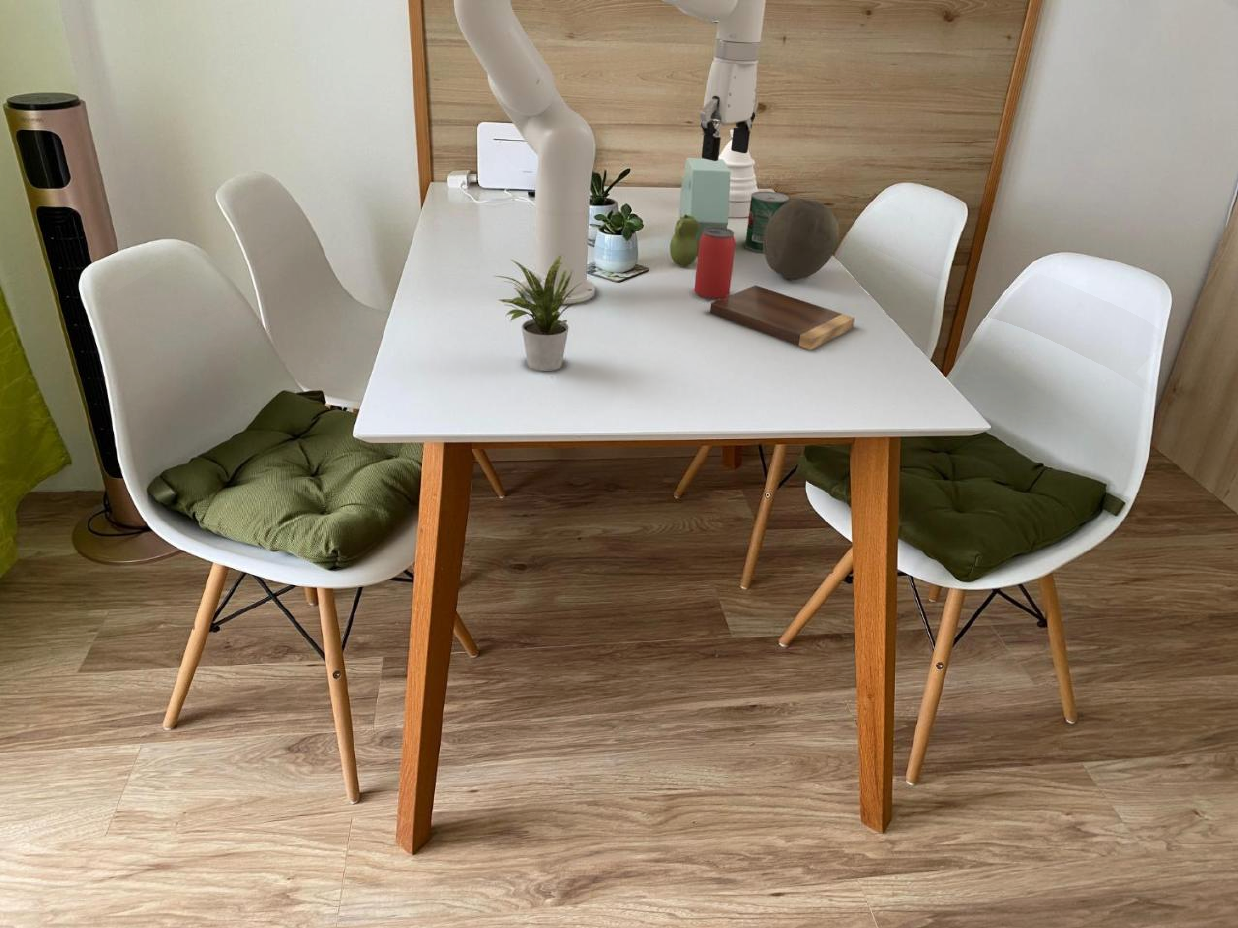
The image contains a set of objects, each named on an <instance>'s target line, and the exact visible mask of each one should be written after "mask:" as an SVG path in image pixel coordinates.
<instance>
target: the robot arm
mask: <svg viewBox="0 0 1238 928" xmlns="http://www.w3.org/2000/svg"><path fill="white" fill-rule="evenodd" d="M660 1H661V2H663V3H667V4H669V5H671V6H674V7H676V8H677V9H678V10H679V11H680V12H681V13H683V14H684V15H686V16H689V17H693V18H696V19H701V20H704V21H706V22H712V23H715V22H717V26H716V36H715V44H714V45H715V46H714V56H713V60H712V63H711V66H710V68H709V72H708V76H707V77H708V78H707V82H706V86H705V87H706V88H705V94H704V100H703V107H702V109H701V110H700V112H699V117H700V122H701V123H700V127H701V129H702V131H701V134H702V136H703V141H702V148H701V149H702V150H701V158H703V159H708V160H712V161H718V159H719V155H720V150H721V139H722V137H721V136H720V134H721V132H722V130H723V128H724V127H725V126H727V125H733V124H735V127H733V129H732V130H733V138H732V139H731V140H732V147H731V150H732V151H735V152H740V153H747V152H748V151H749V144H750V136H751V130H752V129H753V123H754V121H755V118H756V113H757V110H758V107H759V101H758V100H757V99H756V93H757V92H756V91H757V79H758V78H757V77H758V63H759V56H760V49H761V40H762V33H763V24H764V18H765V11H766V1H767V0H660ZM453 8H454V14H455V19H456V21H457V25H458V27H459V29H460V32H461V33H462V35H463V37H464V39H465V40H466V42H467V44H468V46H469V48H470V49H471V50H472V52H473V53H474V55H475V57H476V58H477V60H478V61H479V63H480V65H481V66H482V68H483V70H484V71H485V72H486V74H487V82H488V85H489V88H490V90H491V92H492V94H493V96H494V97H495V99H496V100H497V102H498V103H499V105H500V107H501V108H502V109H503V110H504V112H505V114H506V115H507V117H508V118H509V119H510V121H511V122H512V124H513V125H514V126H515V128H516V129H517V131H518V132H519V134H520V135H521V137H522V138H523V139H524V142H526V143H527V146H529V147H530V149H531V150H532V151H533V152H534V153H535V154H536V155H537V169H536V177H535V186H534V188H535V189H534V208H535V209H534V268H533V269H530V271H531V272H532V274H534V276H535V277H536V278H537V279H538V281H539V282H540V284H541V286H542V288H543V291H544V286H545V279H546V277H547V274H548V272H549V269H550V267H551V266H552V265H553V264H554V262H555V261H556V259H557V258H558V257H559V256H561V259H560V263H562V264H561V265H560V266H559V269H558V272H557V276H556V280H555V285H554V294H555V293H556V290H557V287H558V285H559V282H560V280H561V276H562V274H563V272H564V270H565V268H566V266H567V271H566V276H565V279H564V281H563V284H562V286H561V289H560V292H561V290H562V288H563V286H564V284H565V281H566V279H567V278H568V277H569V275H570V273H571V271H572V270H573V271H572V275H571V278H570V281H569V283H568V285H567V287H566V289H565V291H566V290H567V291H566V292H565V294H564V296H563V298H564V297H565V296H566V295H567V294H568V293H569V292H570V291H571V290H572V289H573V288H574V287H575V286H577V285H578V286H577V287H576V288H575V289H574V290H573V291H572V292H571V293H570V294H569V295H568V296H567V297H566V298H565V300H564V301H563V303H562V305H571V304H573V303H576V302H585V301H588V300H590V299H591V298H593V297H594V296H595V293H596V287H595V285H594V284H593V283H592V282H591V281H590V280H588V260H589V259H588V258H589V257H588V256H589V232H590V205H591V204H590V203H591V201H590V199H591V188H592V187H591V185H592V175H593V171H594V164H595V158H596V157H595V156H596V139H595V135H594V132H593V130H592V128H591V126H590V124H589V123H588V122H587V120H585V118H584V117H583V116H581V115H580V114H578V112H576V111H575V110H573V109H571V108H570V107H569V106H568V105H567V103H566V101H565V100H564V99H563V97H562V96H561V94H560V93H559V91H558V90H557V88H556V81H555V77H554V73H553V72H552V70H551V68H550V66H549V64H548V63H547V61H546V60H544V58H543V57H542V55H541V54H540V52H539V51H538V49H537V48H536V46H535V45H534V44H533V42H532V40H531V39H530V37H529V35H528V34H527V32H526V31H525V29H524V28H523V25H522V24H521V22H520V21H519V19H518V17H517V16H516V14H515V12H514V9H513V7H512V3H511V0H453ZM715 125H716V126H715ZM530 277H531V276H530ZM531 280H532V279H531ZM517 281H518V282H519V283H521V284H522V285H523V286H524V287H525V288H528V289H530V290H532V289H531V287H530V285H529V283H528V281H527V279H526V278H524V279H521V280H517ZM532 282H533V281H532ZM519 283H517V282H515V283H514V288H516V289H518V290H520V291H521V292H522V291H523V292H526V290H525V288H523V286H522V285H520V284H519ZM580 283H581V284H580ZM515 284H516V285H517V286H516V285H515ZM533 284H534V283H533ZM579 284H580V285H579ZM518 286H519V287H520V288H521V289H522V290H521V289H520V288H519V287H518ZM534 287H535V286H534ZM516 289H515V290H516ZM535 289H536V288H535ZM568 290H569V291H568ZM523 292H522V293H523ZM560 292H559V293H560ZM526 294H527V295H528V296H529V297H531V296H530V295H529V294H528V293H527V292H526Z"/></svg>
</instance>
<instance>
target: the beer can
mask: <svg viewBox="0 0 1238 928" xmlns="http://www.w3.org/2000/svg"><path fill="white" fill-rule="evenodd" d="M703 232H704V233H703V235H702V237H701V239H700V242H699V250H698V253H697V259H696V260H697V262H696V270H695V271H696V272H695V279H694V290H693V291H694V292H695V294H696V295H697V296H698V297H700V298H702V299H706V300H713V301H714V300H715V301H717V300H720V299H722V298H725V297H727V296H730V293H731V285H732V276H733V270H734V269H733V267H734V261H735V251H736V239H735V232H734V231H733V230H732V229H730V228H728V227H727V228H722V227H709V228H706V229H704V231H703Z"/></svg>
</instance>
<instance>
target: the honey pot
mask: <svg viewBox="0 0 1238 928" xmlns="http://www.w3.org/2000/svg"><path fill="white" fill-rule="evenodd" d="M733 130H734V129H730V130H729V132H730V137H731V138H732V139H733ZM732 139H731V140H730V141H728V142H727V144H726V145H725V146H724V148H723V149H722V151H721V152H720V153H719V159H723V160H724V162H725V163H726V165H727V167H728V168H729V170H730V194H729V215H728V218H749V210H750V202H751V194H752V193H754V192H759V188H758V186H757V184H758V183H757V182H758V181H757V179H756V178H757V176H756V175H757V174H756V173H755V169H754V166H755V164H756V161H755V159H754V158H752V157H751V154H750V150H748V152H747V153H740V152H735V151H732V150H731V147H732Z"/></svg>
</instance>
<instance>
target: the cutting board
mask: <svg viewBox="0 0 1238 928" xmlns="http://www.w3.org/2000/svg"><path fill="white" fill-rule="evenodd" d="M709 314H710V315H713V316H716V317H718V318H721V319H724V320H726V321H730V322H732V323H735V324H738V325H741V326H744V327H746V328H749V329H752V330H754V331H757V332H760V333H762V334H764V335H768V336H771V337H773V338H777V339H780V340H781V341H784V342H787V343H790V344H793V345H795V346H798V347H801V348H804V349H806V350H808V351H812V350H814V349H816V348H818V347H820V346H821V345H824V344H825V343H827V342H829V341H831V340H833V339H835V338H837V337H839V336H841V335H842V334H845V333H847V332H848V331H850V330H852V329H853V328H854V324H855V318H856V317H854V316H850V315H847V314H844V313H841V312H838V311H835V310H832V309H828V308H826V307H823V306H820V305H817V304H814V303H811V302H807V301H804V300H802V299H798V298H795V297H792V296H789V295H786V294H783V293H780V292H777V291H775V290H771V289H768V288H765V287H762V286H760V285H753V286H750V287H748V288H745V289H743V290H740V291H738V292H735V293H731V294H729V295H728V296H727V297H725V298H722V299H717V300H715V301H712V302H710V307H709Z"/></svg>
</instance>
